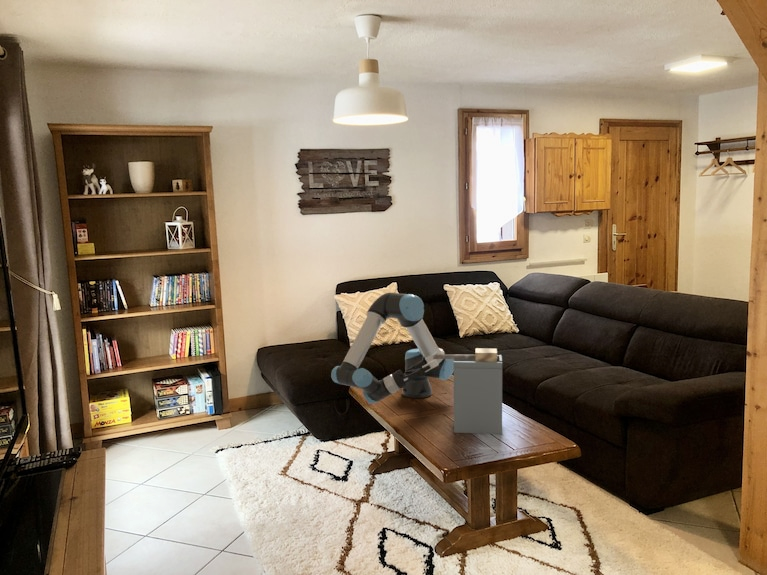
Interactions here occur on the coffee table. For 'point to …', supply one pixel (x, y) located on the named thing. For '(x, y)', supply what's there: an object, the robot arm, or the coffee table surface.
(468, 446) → the coffee table surface
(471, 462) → the coffee table surface
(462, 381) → the shelf
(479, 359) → the maple block
